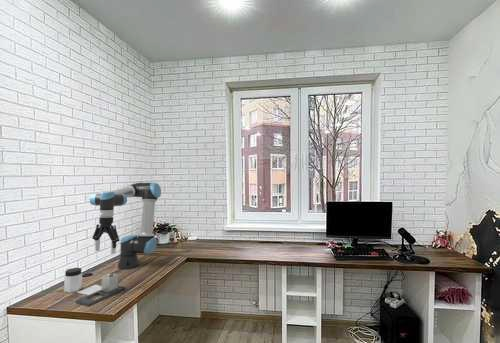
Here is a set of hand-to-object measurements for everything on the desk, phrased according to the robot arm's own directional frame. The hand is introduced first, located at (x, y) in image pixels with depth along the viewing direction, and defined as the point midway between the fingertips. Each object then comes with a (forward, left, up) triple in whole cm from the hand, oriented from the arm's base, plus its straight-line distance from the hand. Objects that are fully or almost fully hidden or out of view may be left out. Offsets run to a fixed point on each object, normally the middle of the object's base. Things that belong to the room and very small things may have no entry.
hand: (105, 252), depth 160 cm
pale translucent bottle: (0, +4, -23) cm, 23 cm away
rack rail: (+5, +4, -23) cm, 24 cm away
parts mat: (+2, -8, -23) cm, 24 cm away
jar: (+6, -19, -23) cm, 30 cm away
